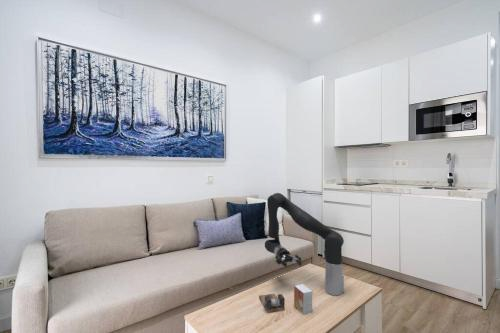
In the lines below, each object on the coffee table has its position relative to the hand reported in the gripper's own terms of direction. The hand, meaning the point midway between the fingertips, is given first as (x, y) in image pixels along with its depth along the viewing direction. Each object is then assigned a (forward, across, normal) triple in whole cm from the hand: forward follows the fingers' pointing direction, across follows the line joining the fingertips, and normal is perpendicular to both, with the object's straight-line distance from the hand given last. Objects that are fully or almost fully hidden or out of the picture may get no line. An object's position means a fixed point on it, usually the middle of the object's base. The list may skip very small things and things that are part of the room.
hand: (293, 264), depth 133 cm
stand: (+3, -14, +18) cm, 23 cm away
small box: (+12, 0, +18) cm, 21 cm away
